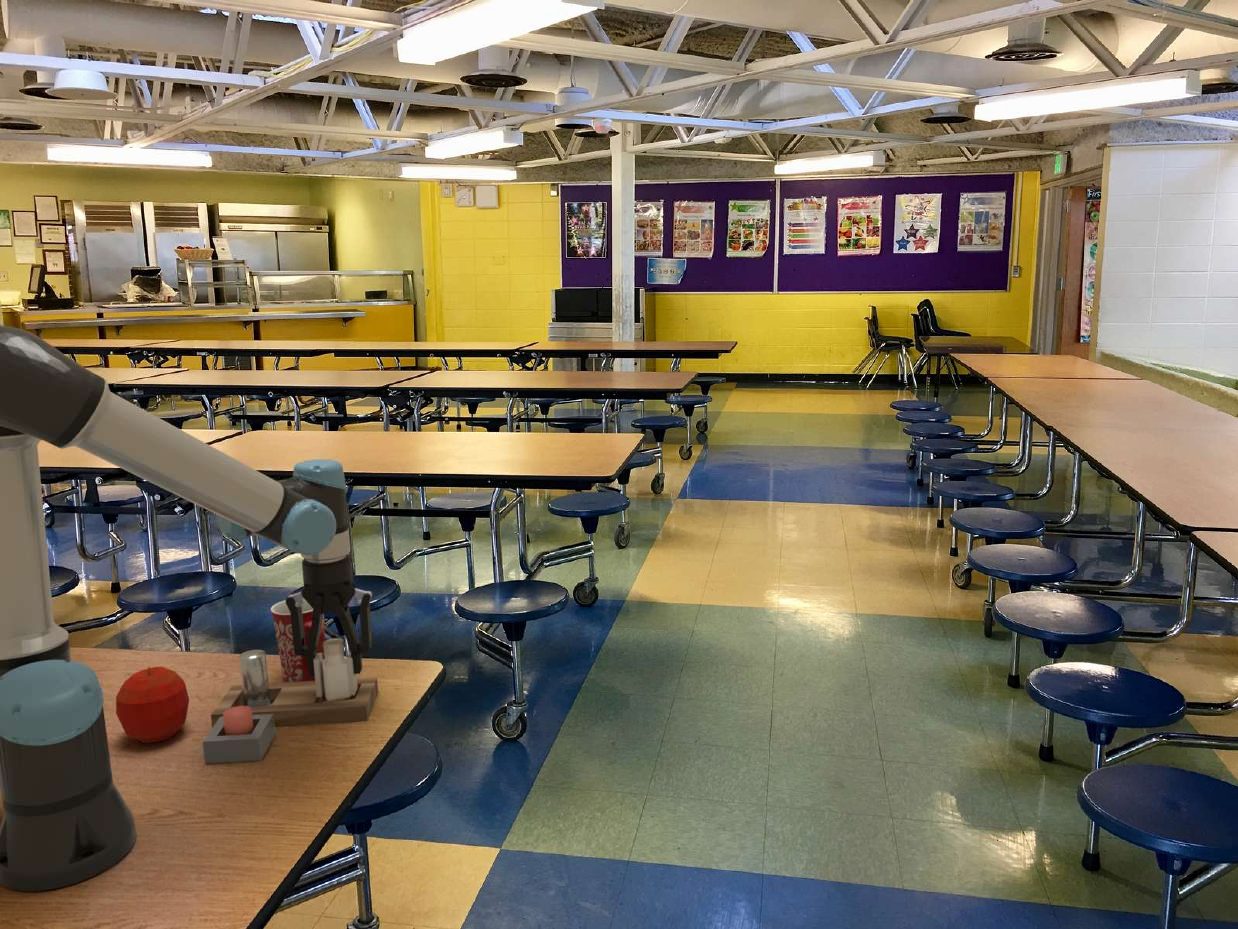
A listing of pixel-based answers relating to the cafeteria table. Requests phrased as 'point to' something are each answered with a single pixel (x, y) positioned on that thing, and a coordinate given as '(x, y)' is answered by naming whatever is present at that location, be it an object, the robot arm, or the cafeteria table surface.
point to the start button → (238, 721)
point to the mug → (291, 663)
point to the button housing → (239, 741)
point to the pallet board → (305, 703)
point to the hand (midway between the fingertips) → (337, 692)
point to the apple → (152, 704)
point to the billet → (254, 678)
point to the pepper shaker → (335, 670)
